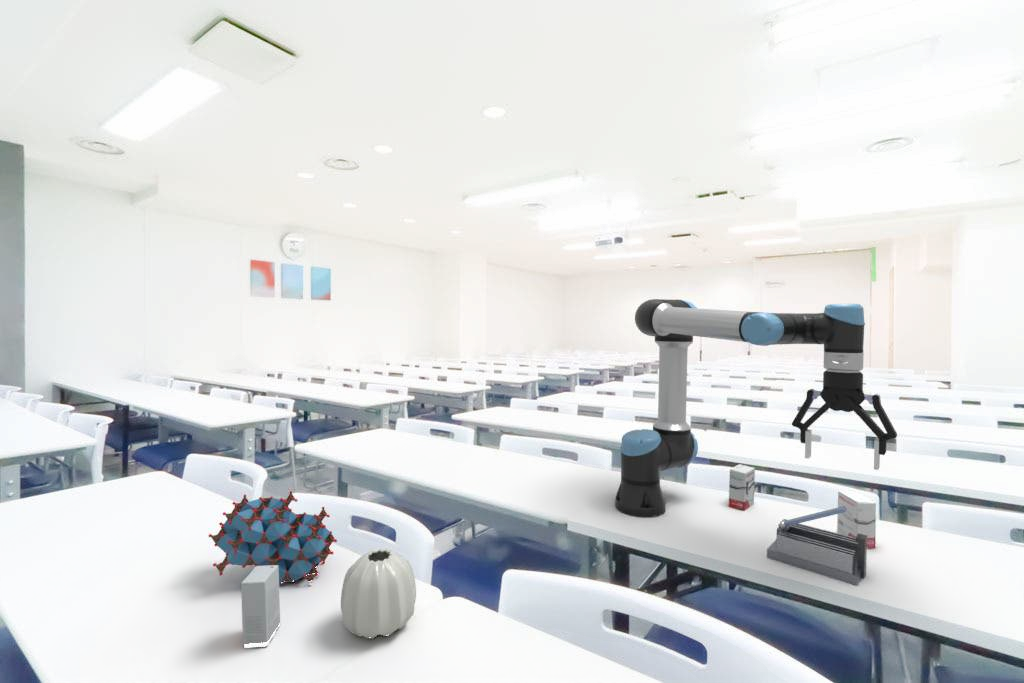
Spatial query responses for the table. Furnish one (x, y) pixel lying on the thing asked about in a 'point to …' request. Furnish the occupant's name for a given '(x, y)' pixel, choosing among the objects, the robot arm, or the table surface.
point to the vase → (378, 594)
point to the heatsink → (821, 552)
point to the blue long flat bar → (811, 517)
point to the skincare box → (260, 604)
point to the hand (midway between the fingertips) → (840, 462)
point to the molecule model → (274, 538)
